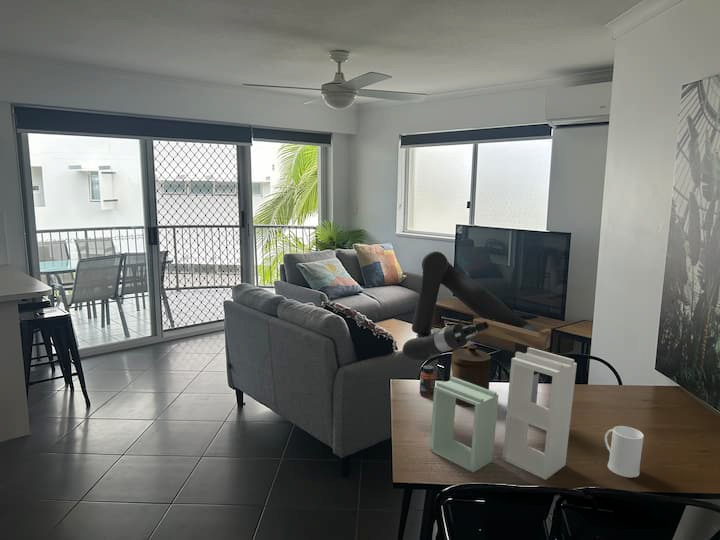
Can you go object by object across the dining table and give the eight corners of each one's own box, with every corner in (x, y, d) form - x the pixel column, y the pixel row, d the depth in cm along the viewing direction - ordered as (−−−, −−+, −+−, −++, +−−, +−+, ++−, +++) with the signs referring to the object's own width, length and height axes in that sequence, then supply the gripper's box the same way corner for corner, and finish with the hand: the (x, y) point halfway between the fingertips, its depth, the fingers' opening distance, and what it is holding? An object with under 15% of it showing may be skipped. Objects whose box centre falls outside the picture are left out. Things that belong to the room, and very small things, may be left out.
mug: (593, 458, 160) (597, 422, 158) (615, 455, 163) (620, 419, 161) (622, 479, 149) (627, 440, 147) (646, 475, 152) (651, 437, 150)
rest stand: (449, 440, 168) (454, 375, 164) (492, 460, 157) (498, 391, 153) (429, 450, 161) (434, 383, 157) (473, 472, 150) (479, 400, 146)
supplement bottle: (436, 393, 205) (438, 366, 203) (432, 398, 200) (433, 370, 198) (422, 390, 208) (423, 363, 206) (417, 395, 202) (418, 367, 201)
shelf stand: (522, 446, 166) (532, 345, 160) (565, 465, 156) (577, 358, 150) (502, 459, 157) (512, 353, 152) (545, 479, 147) (557, 367, 142)
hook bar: (479, 328, 169) (480, 312, 168) (549, 347, 152) (551, 329, 151) (472, 330, 166) (473, 314, 165) (542, 349, 149) (544, 332, 148)
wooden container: (463, 388, 211) (467, 336, 207) (495, 400, 200) (500, 346, 197) (440, 398, 201) (444, 343, 197) (472, 411, 190) (477, 353, 187)
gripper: (433, 331, 171) (474, 315, 159) (459, 324, 181) (499, 308, 169) (441, 352, 169) (482, 338, 157) (467, 344, 179) (507, 330, 167)
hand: (491, 323), depth 163 cm, fingers closed on hook bar, 4 cm apart
